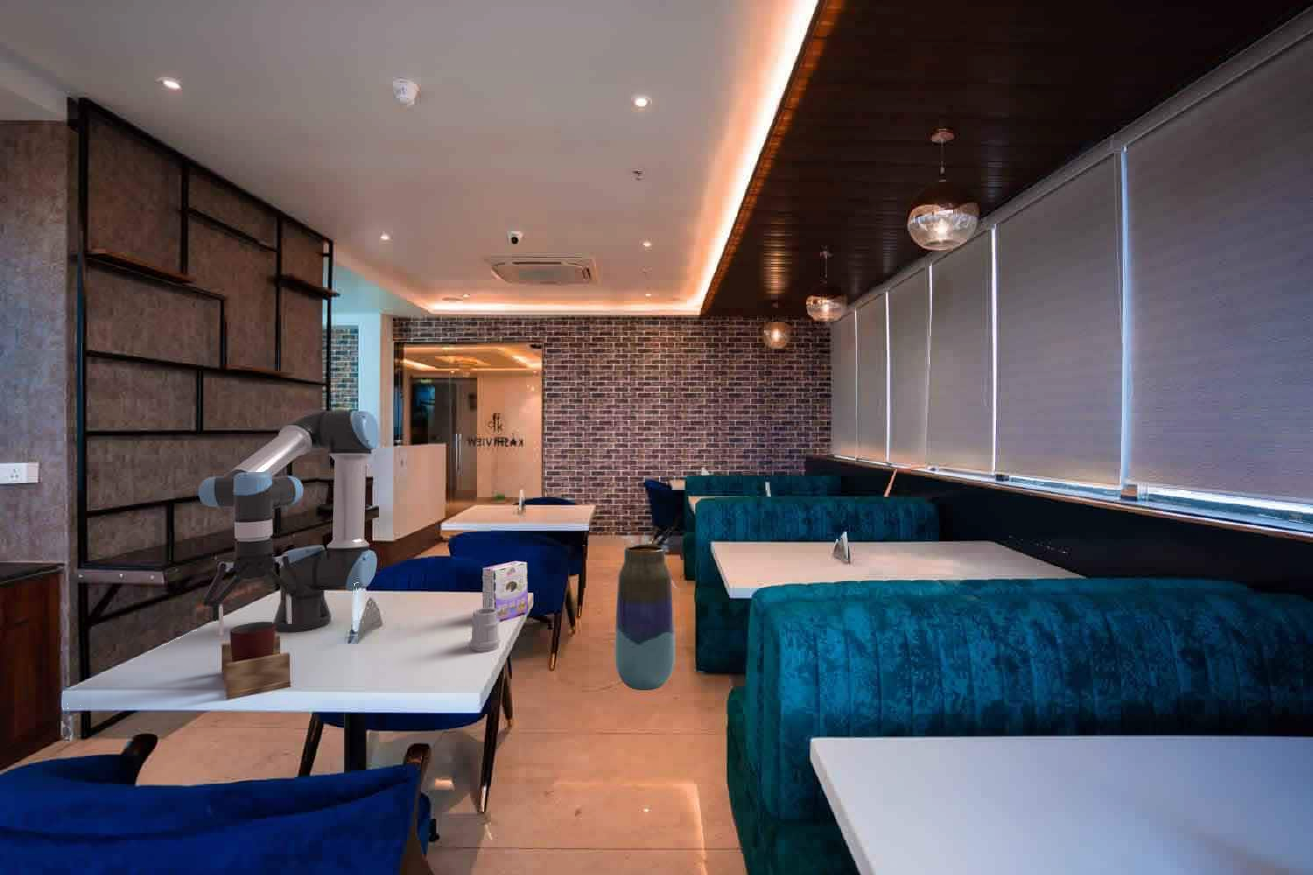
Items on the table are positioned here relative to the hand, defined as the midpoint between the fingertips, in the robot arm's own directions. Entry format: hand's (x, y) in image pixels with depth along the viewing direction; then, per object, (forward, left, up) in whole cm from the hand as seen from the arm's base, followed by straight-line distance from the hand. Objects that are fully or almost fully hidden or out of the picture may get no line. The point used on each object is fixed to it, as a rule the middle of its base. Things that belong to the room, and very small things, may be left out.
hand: (256, 627), depth 150 cm
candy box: (-68, -12, -12) cm, 70 cm away
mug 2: (-53, +10, -12) cm, 55 cm away
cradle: (0, 0, -12) cm, 12 cm away
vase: (-71, +58, -12) cm, 92 cm away
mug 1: (0, 0, -11) cm, 11 cm away
